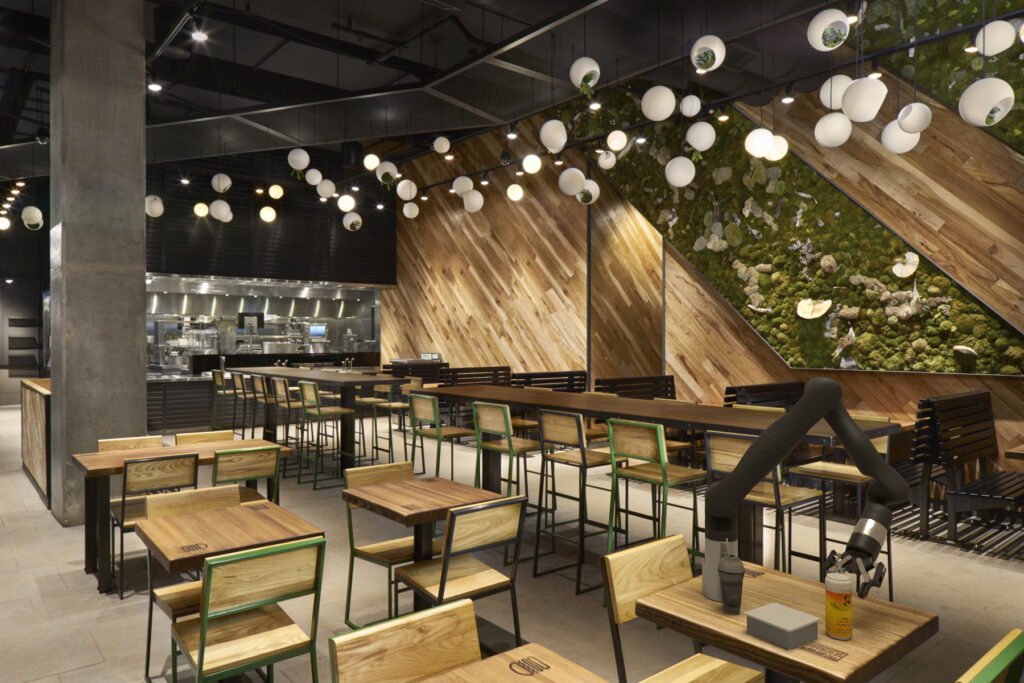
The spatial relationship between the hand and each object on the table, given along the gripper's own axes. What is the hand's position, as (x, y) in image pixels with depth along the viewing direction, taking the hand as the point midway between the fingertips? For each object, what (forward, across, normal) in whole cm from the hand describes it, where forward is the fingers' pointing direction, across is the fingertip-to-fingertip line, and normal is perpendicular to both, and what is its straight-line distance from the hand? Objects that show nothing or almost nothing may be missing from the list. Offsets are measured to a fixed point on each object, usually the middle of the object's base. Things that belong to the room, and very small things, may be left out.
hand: (843, 592), depth 168 cm
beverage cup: (+16, -25, -1) cm, 30 cm away
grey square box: (+18, -8, -3) cm, 19 cm away
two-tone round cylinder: (+9, 0, +6) cm, 11 cm away
